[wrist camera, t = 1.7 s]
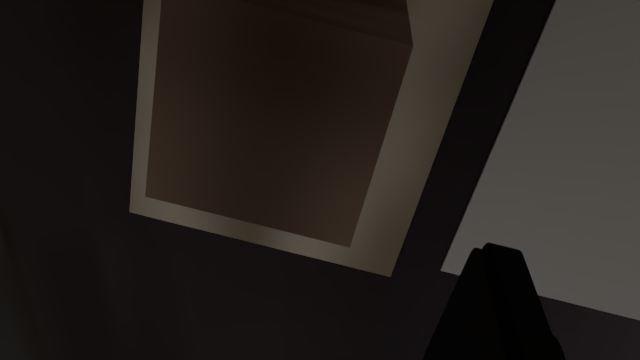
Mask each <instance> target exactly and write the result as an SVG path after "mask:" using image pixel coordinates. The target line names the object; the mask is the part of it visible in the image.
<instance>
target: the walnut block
mask: <svg viewBox="0 0 640 360" xmlns="http://www.w3.org/2000/svg"><path fill="white" fill-rule="evenodd" d="M412 49H413V40H412V34H411V27H410V21H409V14H408V8H407V1H406V0H161V10H160V22H159V35H158V47H157V59H156V71H155V83H154V95H153V107H152V119H151V131H150V143H149V155H148V167H147V179H146V191H145V197H149V198H153V199H157V200H161V201H165V202H169V203H173V204H177V205H181V206H185V207H189V208H193V209H197V210H201V211H205V212H209V213H213V214H217V215H221V216H225V217H229V218H233V219H237V220H241V221H245V222H249V223H253V224H257V225H261V226H265V227H269V228H273V229H277V230H281V231H285V232H289V233H293V234H297V235H301V236H305V237H309V238H313V239H317V240H321V241H325V242H329V243H333V244H337V245H341V246H345V247H349V248H350V245H351V242H352V239H353V236H354V233H355V230H356V226H357V223H358V220H359V217H360V214H361V211H362V207H363V204H364V201H365V198H366V195H367V192H368V188H369V185H370V182H371V179H372V176H373V173H374V169H375V166H376V163H377V160H378V157H379V154H380V150H381V147H382V144H383V141H384V138H385V135H386V131H387V128H388V125H389V122H390V119H391V116H392V112H393V109H394V106H395V103H396V100H397V97H398V93H399V90H400V87H401V84H402V81H403V78H404V75H405V71H406V68H407V65H408V62H409V59H410V56H411V52H412Z"/></svg>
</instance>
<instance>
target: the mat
mask: <svg viewBox="0 0 640 360" xmlns="http://www.w3.org/2000/svg"><path fill="white" fill-rule="evenodd" d="M486 243H493V244H498V245H502V246H506V247H510V248H514V249H518V250H520V251H521V252H522V254H523V256H524V259H525V261H526V264H527V267H528V270H529V272H530V275H531V278H532V280H533V283H534V286H535V289H536V291H537V294H538V295H540V296H544V297H548V298H552V299H556V300H560V301H564V302H568V303H572V304H576V305H580V306H585V307H589V308H593V309H597V310H601V311H605V312H609V313H613V314H617V315H621V316H625V317H629V318H633V319H637V320H640V0H555V2H554V4H553V7H552V9H551V11H550V14H549V16H548V18H547V21H546V23H545V25H544V28H543V30H542V32H541V35H540V37H539V39H538V42H537V44H536V46H535V49H534V51H533V53H532V56H531V58H530V60H529V63H528V65H527V68H526V70H525V72H524V75H523V77H522V79H521V82H520V84H519V86H518V89H517V91H516V93H515V96H514V98H513V100H512V103H511V105H510V107H509V110H508V112H507V114H506V117H505V119H504V121H503V124H502V126H501V128H500V131H499V133H498V135H497V138H496V140H495V142H494V145H493V147H492V149H491V152H490V154H489V156H488V159H487V161H486V163H485V166H484V168H483V170H482V173H481V175H480V178H479V180H478V182H477V185H476V187H475V189H474V192H473V194H472V196H471V199H470V201H469V203H468V206H467V208H466V210H465V213H464V215H463V217H462V220H461V222H460V224H459V227H458V229H457V231H456V234H455V236H454V238H453V241H452V243H451V245H450V248H449V250H448V252H447V255H446V257H445V259H444V262H443V264H442V266H441V271H444V272H448V273H452V274H456V275H460V274H461V272H462V270H463V268H464V265H465V263H466V261H467V259H468V257H469V254H470V253H471V251H472V250H473V248H480V249H482V248H483V246H484V245H485V244H486Z"/></svg>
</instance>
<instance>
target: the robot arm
mask: <svg viewBox="0 0 640 360" xmlns="http://www.w3.org/2000/svg"><path fill="white" fill-rule="evenodd" d="M423 360H566V359H565V356H564V353H563V351H562V348H561V345H560V343H559V342H558V340H557V338H556V337H555V336H553V335H552V332H551V330H550V327H549V324H548V321H547V319H546V316H545V313H544V311H543V308H542V305H541V302H540V300H539V297H538V294H537V291H536V289H535V286H534V283H533V280H532V278H531V275H530V272H529V270H528V267H527V264H526V261H525V259H524V256H523V254H522V252H521V251H520V250H518V249H514V248H510V247H506V246H502V245H498V244H493V243H486V244H485V245H484V246H483V248H482V249H480V248H473V250H472V251H471V253H470V254H469V257H468V259H467V261H466V263H465V265H464V268H463V270H462V272H461V274H460V276H459V279H458V281H457V283H456V285H455V288H454V290H453V292H452V294H451V296H450V299H449V301H448V303H447V305H446V307H445V310H444V312H443V314H442V316H441V318H440V321H439V323H438V325H437V327H436V330H435V332H434V334H433V336H432V338H431V341H430V343H429V345H428V347H427V349H426V352H425V354H424V358H423Z"/></svg>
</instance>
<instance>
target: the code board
mask: <svg viewBox="0 0 640 360" xmlns="http://www.w3.org/2000/svg"><path fill="white" fill-rule="evenodd" d="M406 1H407V8H408V14H409V21H410V27H411V34H412V40H413V49H412V52H411V56H410V59H409V62H408V65H407V68H406V71H405V75H404V78H403V81H402V84H401V87H400V90H399V93H398V97H397V100H396V103H395V106H394V109H393V112H392V116H391V119H390V122H389V125H388V128H387V131H386V135H385V138H384V141H383V144H382V147H381V150H380V154H379V157H378V160H377V163H376V166H375V169H374V173H373V176H372V179H371V182H370V185H369V188H368V192H367V195H366V198H365V201H364V204H363V207H362V211H361V214H360V217H359V220H358V223H357V226H356V230H355V233H354V236H353V239H352V242H351V245H350V248H349V247H345V246H341V245H337V244H333V243H329V242H325V241H321V240H317V239H313V238H309V237H305V236H301V235H297V234H293V233H289V232H285V231H281V230H277V229H273V228H269V227H265V226H261V225H257V224H253V223H249V222H245V221H241V220H237V219H233V218H229V217H225V216H221V215H217V214H213V213H209V212H205V211H201V210H197V209H193V208H189V207H185V206H181V205H177V204H173V203H169V202H165V201H161V200H157V199H153V198H149V197H145V191H146V179H147V167H148V155H149V143H150V131H151V119H152V107H153V95H154V83H155V71H156V59H157V47H158V35H159V22H160V10H161V0H144V4H143V19H142V34H141V48H140V63H139V78H138V93H137V108H136V122H135V137H134V152H133V167H132V182H131V197H130V211H129V212H131V213H135V214H139V215H143V216H147V217H151V218H156V219H160V220H164V221H168V222H172V223H176V224H180V225H184V226H188V227H192V228H196V229H200V230H204V231H208V232H212V233H216V234H220V235H224V236H228V237H232V238H236V239H240V240H244V241H248V242H252V243H256V244H260V245H264V246H268V247H272V248H276V249H280V250H284V251H288V252H292V253H296V254H300V255H304V256H308V257H312V258H316V259H320V260H324V261H328V262H332V263H336V264H340V265H344V266H348V267H353V268H357V269H361V270H365V271H369V272H373V273H377V274H381V275H385V276H389V277H391V274H392V271H393V269H394V266H395V263H396V260H397V258H398V255H399V252H400V250H401V247H402V244H403V242H404V239H405V236H406V234H407V231H408V228H409V226H410V223H411V220H412V218H413V215H414V212H415V210H416V207H417V204H418V202H419V199H420V196H421V194H422V191H423V188H424V185H425V183H426V180H427V177H428V175H429V172H430V169H431V167H432V164H433V161H434V159H435V156H436V153H437V151H438V148H439V145H440V143H441V140H442V137H443V135H444V132H445V129H446V127H447V124H448V121H449V119H450V116H451V113H452V111H453V108H454V105H455V102H456V100H457V97H458V94H459V92H460V89H461V86H462V84H463V81H464V78H465V76H466V73H467V70H468V68H469V65H470V62H471V60H472V57H473V54H474V52H475V49H476V46H477V44H478V41H479V38H480V36H481V33H482V30H483V28H484V25H485V22H486V19H487V17H488V14H489V11H490V9H491V6H492V3H493V1H494V0H406Z"/></svg>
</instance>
